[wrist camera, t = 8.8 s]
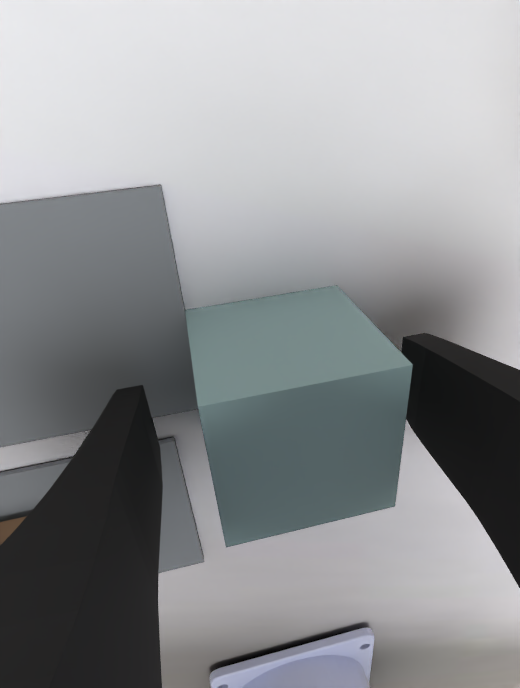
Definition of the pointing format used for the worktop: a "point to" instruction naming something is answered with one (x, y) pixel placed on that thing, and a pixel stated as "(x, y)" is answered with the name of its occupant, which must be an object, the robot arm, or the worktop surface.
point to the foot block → (297, 410)
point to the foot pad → (177, 518)
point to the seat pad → (88, 312)
